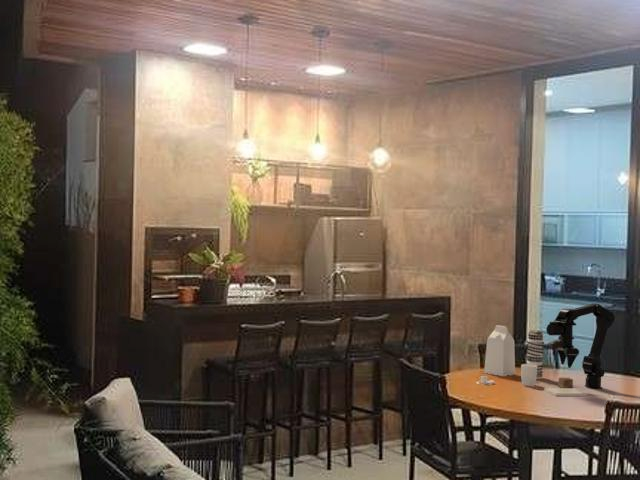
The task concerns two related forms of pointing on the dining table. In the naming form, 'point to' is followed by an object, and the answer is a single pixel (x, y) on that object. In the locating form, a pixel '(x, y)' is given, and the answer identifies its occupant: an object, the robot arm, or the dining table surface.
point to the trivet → (565, 392)
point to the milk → (500, 353)
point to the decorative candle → (535, 350)
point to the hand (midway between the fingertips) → (565, 366)
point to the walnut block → (565, 383)
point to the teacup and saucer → (485, 380)
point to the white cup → (528, 374)
